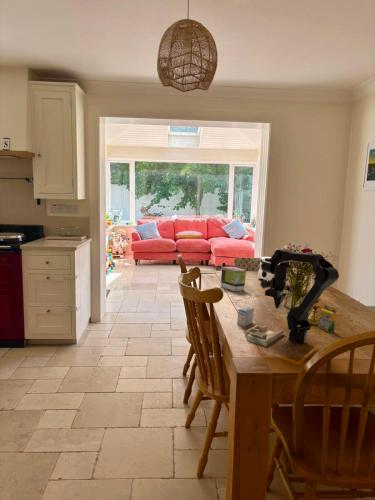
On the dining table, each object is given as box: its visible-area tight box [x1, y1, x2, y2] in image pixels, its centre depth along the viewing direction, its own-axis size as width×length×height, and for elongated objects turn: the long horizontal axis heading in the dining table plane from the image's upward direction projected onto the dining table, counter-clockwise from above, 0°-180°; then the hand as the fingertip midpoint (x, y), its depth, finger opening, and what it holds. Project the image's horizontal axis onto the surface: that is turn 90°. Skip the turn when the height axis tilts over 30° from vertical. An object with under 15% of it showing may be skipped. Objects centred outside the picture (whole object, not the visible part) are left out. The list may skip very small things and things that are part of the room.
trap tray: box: [244, 324, 284, 347], centre depth 160 cm, size 12×19×3 cm, turn 143°
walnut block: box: [252, 331, 267, 340], centre depth 155 cm, size 4×5×3 cm
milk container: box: [257, 256, 274, 280], centre depth 286 cm, size 17×17×18 cm
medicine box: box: [236, 305, 254, 327], centre depth 176 cm, size 8×4×9 cm, turn 141°
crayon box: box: [318, 305, 337, 333], centre depth 177 cm, size 7×3×12 cm, turn 29°
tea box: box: [220, 266, 247, 292], centre depth 250 cm, size 15×10×15 cm, turn 34°
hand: (277, 308), depth 167 cm, fingers closed
